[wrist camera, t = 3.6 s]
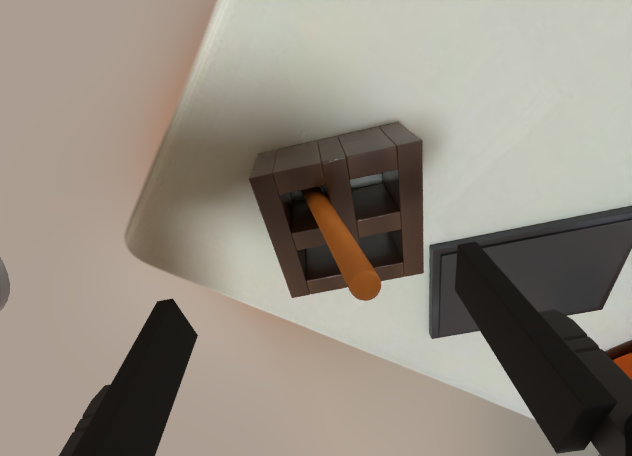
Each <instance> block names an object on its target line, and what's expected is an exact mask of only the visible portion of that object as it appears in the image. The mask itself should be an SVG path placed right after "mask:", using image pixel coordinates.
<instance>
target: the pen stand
mask: <svg viewBox="0 0 632 456" xmlns="http://www.w3.org/2000/svg"><path fill="white" fill-rule="evenodd" d="M378 173H383V183H384V184H383V183H382V184H378V185H373V186H368V187H364V188H359V189H354V190H351V185H350V179H355V178H359V177H364V176H369V175H373V174H378ZM249 181H250V183H251V186H252V189H253V192H254V194H255V197H256V200H257V203H258V205H259V208H260V211H261V214H262V216H263V219H264V222H265V225H266V227H267V230H268V233H269V236H270V239H271V241H272V244H273V247H274V250H275V252H276V255H277V258H278V261H279V263H280V266H281V269H282V272H283V274H284V277H285V280H286V283H287V285H288V288H289V291H290V294H291V296H292V298H294V297H300V296H305V295H310V294H315V293H320V292H325V291H331V290H336V289H341V288H346V287H348V286H347V284H346V282H345V280H344V278H343V275H342V273H341V271H340V269H339V267H338V265H337V263H336V261H335V259H334V257H333V255H332V253H331V251H330V249H329V247H328V245H327V243H326V241H325V239H324V236H323V234H322V232H321V230H320V228H319V226H318V224H317V222H316V220H315V218H314V216H313V214H312V212H311V210H310V208H309V206H308V204H307V202H306V200H302V201H298V202H293V203H292V199H291V196H290V192H295V191H299V190H304V189H309V188H313V187H318V186H322V185H326V187H327V192H328V195H326V197H327V199H328V200H329V202H330V203H331V205H332V206H333V208H334V210H335V211H336V213H337V214H338V216H339V217H340V219H341V220H342V222H343V223H344V225H345V226H346V228H347V229H348V231H349V232H350V234H351V235H352V237H353V238H354V240H355V241H356V243H357V244H358V246H359V247H360V249H361V250H362V252H363V253H364V255H365V256H366V258H367V259H368V261H369V262H370V264H371V265H372V267H373V268H374V270H375V271H376V273H377V274H378V276H379V278H380V281H384V280H390V279H395V278H400V277H404V276H405V277H406V276H411V275H416V274H422V273H424V270H423V168H422V140H421V139H420V138H418V137H417V136H416V135H415V134H413V133H412V132H411V131H410V130H408V129H407V128H406V127H404V126H403V125H402V124H401V123H399V122H397V123H392V124H388V125H383V126H379V127H375V128H370V129H366V130H361V131H357V132H353V133H348V134H344V135H339V136H338V137H337V136H335V137H331V138H326V139H322V140H318V141H313V142H308V143H304V144H300V145H295V146H291V147H286V148H282V149H278V150H273V151H269V152H264V153H260V154H258V155H257V158H256V161H255V164H254V166H253V169H252V172H251V174H250V177H249Z"/></svg>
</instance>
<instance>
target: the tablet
mask: <svg viewBox="0 0 632 456" xmlns="http://www.w3.org/2000/svg"><path fill="white" fill-rule="evenodd" d="M475 241H476V242H477V243H478V244H479V246H480V247H481V248H482V249H483V250H484V251H485V252H486V253H487V255H488V256H489V257H490V258H491V259H492V260H493V261H494V262H495V264H496V265H497V266H498V267H499V268H500V269H501V270H502V272H503V273H504V274H505V275H506V276H507V277H508V278H509V279H510V281H511V282H512V283H513V284H514V285H515V286H516V287H517V289H518V290H519V291H520V292H521V293H522V294H523V295H524V296H525V298H526V299H527V300H528V301H529V302H530V303H531V304H532V305H533V307H534V308H535V309H536V310H537V311H538V312H541V311H547V310H553V309H556V310H557V311H559V312H560V313H562V314H564V315H565V316H568V315H573V314H579V313H585V312H591V311H597V310H602V309H603V307H604V305H605V303H606V301H607V299H608V296H609V294H610V292H611V290H612V288H613V286H614V284H615V282H616V280H617V278H618V276H619V274H620V272H621V270H622V267H623V265H624V263H625V261H626V259H627V257H628V255H629V253H630V251H631V249H632V206H631V207H626V208H620V209H615V210H610V211H605V212H600V213H595V214H590V215H585V216H579V217H574V218H569V219H564V220H559V221H554V222H549V223H544V224H538V225H533V226H528V227H523V228H518V229H513V230H508V231H503V232H497V233H492V234H487V235H482V236H477V237H472V238H467V239H462V240H456V241H451V242H446V243H441V244H436V245H431V246H430V336H431V338H432V339H434V338H440V337H446V336H452V335H458V334H463V333H469V332H475V331H480V330H479V328H478V326H477V325H476V323H475V322H474V320H473V318H472V317H471V315H470V314H469V312H468V310H467V309H466V307H465V306H464V304H463V302H462V301H461V299H460V298H459V296H458V294H457V293H456V291H455V277H456V263H457V248H458V245H459V244H464V243H469V242H475Z"/></svg>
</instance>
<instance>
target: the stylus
mask: <svg viewBox="0 0 632 456" xmlns="http://www.w3.org/2000/svg"><path fill="white" fill-rule="evenodd" d="M301 191H302V193H303V195H304V197H305V200H306V202H307V204H308V206H309V208H310V210H311V212H312V214H313V216H314V218H315V220H316V222H317V224H318V226H319V228H320V230H321V232H322V234H323V236H324V239H325V241H326V243H327V245H328V247H329V249H330V251H331V253H332V255H333V257H334V259H335V261H336V263H337V265H338V267H339V269H340V271H341V273H342V275H343V278H344V280H345V282H346V284H347V286H348V288H349V290H350V292H351V293H352V295H353V296H355V297H356V298H357V299H359V300H365V301H367V300H371V299H373V298H375V297H376V296H377V295H378V293H379V291H380V289H381V281H380V278H379V276H378V274H377V273H376V271H375V270H374V268H373V267H372V265H371V264H370V262H369V261H368V259H367V258H366V256H365V255H364V253H363V252H362V250H361V249H360V247H359V246H358V244H357V243H356V241H355V240H354V238H353V237H352V235H351V234H350V232H349V231H348V229H347V228H346V226H345V225H344V223H343V222H342V220H341V219H340V217H339V216H338V214H337V213H336V211H335V210H334V208H333V206H332V205H331V203H330V202H329V200H328V199H327V197H326V196H325V194H324V193H323V191H322V190H321V188H320V187H319V186H318V187H313V188H309V189H304V190H301Z"/></svg>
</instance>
